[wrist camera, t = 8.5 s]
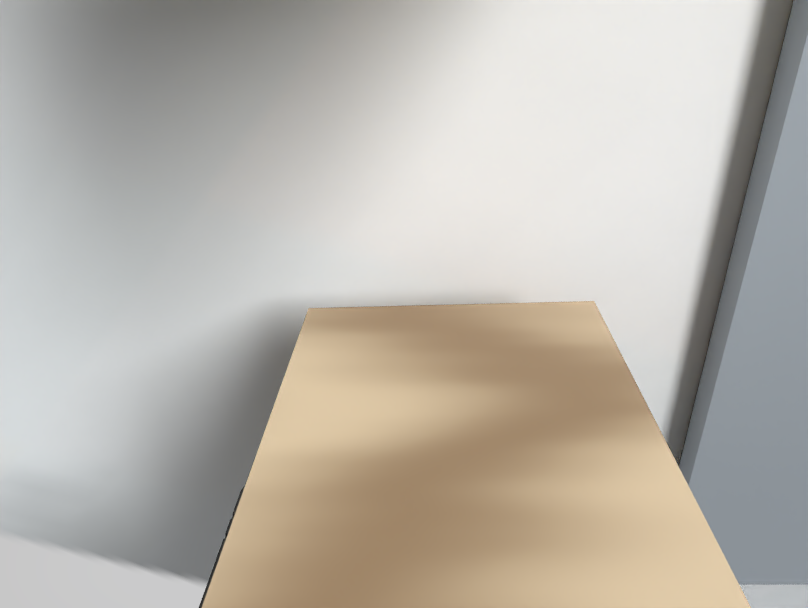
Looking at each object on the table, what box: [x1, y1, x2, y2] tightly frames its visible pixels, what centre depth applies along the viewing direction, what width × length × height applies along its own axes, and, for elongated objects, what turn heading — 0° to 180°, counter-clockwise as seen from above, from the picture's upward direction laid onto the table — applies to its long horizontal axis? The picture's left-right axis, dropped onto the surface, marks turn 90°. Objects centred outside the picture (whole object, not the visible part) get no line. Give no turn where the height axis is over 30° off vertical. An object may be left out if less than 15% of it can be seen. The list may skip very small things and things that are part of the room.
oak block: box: [202, 301, 751, 608], centre depth 9 cm, size 5×7×6 cm
